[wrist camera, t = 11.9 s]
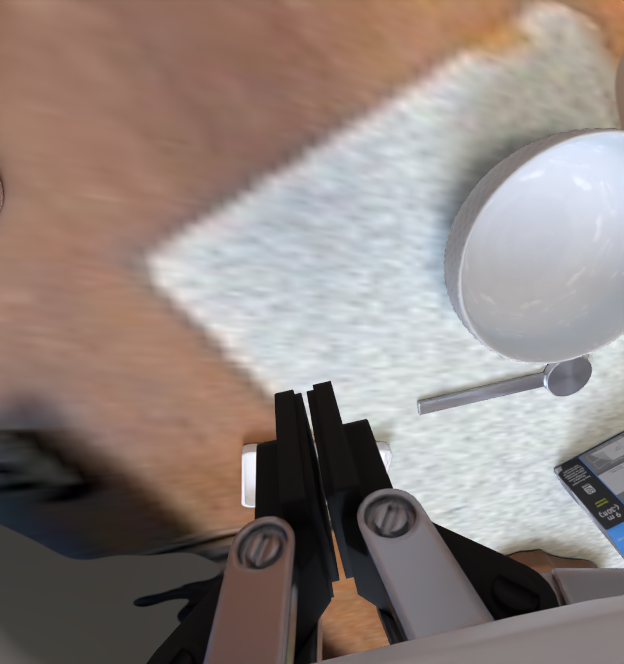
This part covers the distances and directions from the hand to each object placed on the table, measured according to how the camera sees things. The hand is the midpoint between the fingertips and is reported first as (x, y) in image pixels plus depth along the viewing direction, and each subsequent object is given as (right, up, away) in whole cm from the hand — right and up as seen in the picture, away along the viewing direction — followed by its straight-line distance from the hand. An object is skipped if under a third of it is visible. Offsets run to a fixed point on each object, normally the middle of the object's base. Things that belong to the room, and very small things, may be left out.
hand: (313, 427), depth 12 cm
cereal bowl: (+18, +11, +23) cm, 31 cm away
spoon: (+20, -3, +29) cm, 35 cm away
